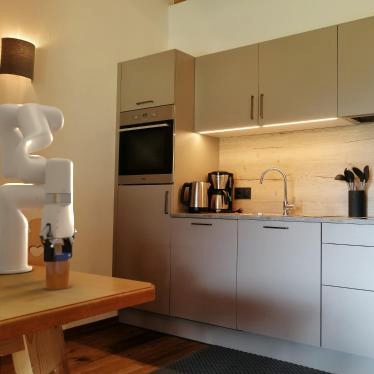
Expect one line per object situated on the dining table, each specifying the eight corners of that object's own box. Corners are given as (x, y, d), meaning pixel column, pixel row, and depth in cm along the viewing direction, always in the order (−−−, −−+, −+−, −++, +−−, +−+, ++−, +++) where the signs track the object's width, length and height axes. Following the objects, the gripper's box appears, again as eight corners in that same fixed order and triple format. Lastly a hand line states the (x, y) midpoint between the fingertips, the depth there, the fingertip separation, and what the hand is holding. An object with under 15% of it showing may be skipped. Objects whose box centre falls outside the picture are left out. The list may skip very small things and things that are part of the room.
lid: (40, 259, 123) (40, 253, 123) (63, 257, 129) (63, 251, 129) (52, 261, 119) (52, 255, 119) (75, 259, 125) (75, 253, 125)
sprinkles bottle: (65, 278, 137) (66, 237, 138) (50, 280, 135) (51, 238, 135) (63, 276, 141) (63, 236, 141) (48, 278, 138) (48, 237, 139)
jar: (41, 287, 123) (41, 255, 123) (62, 284, 128) (63, 253, 128) (52, 290, 119) (52, 257, 119) (73, 287, 124) (74, 255, 124)
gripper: (64, 200, 134) (63, 256, 133) (27, 200, 116) (27, 263, 116) (86, 200, 132) (86, 256, 132) (52, 199, 115) (52, 264, 115)
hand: (58, 259), depth 124 cm, fingers open, 8 cm apart
